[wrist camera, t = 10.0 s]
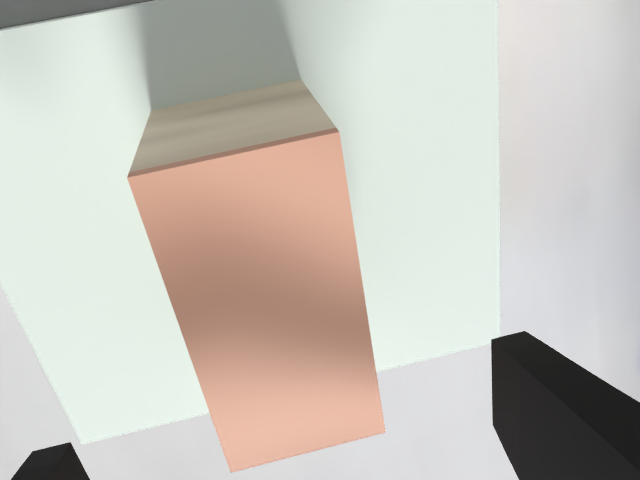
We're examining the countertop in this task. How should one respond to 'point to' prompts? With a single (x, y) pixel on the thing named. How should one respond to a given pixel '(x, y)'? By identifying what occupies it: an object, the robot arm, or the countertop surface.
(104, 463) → the countertop surface
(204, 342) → the maple block
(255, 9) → the mat
